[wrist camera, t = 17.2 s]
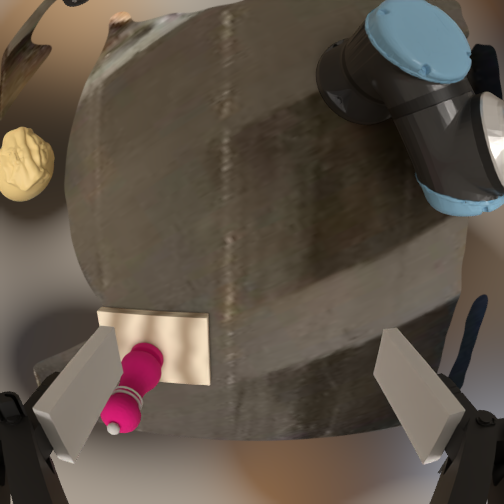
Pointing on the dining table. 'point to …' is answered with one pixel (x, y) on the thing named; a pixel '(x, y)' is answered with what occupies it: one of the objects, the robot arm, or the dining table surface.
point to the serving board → (165, 340)
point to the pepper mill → (132, 388)
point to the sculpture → (25, 164)
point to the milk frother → (74, 2)
